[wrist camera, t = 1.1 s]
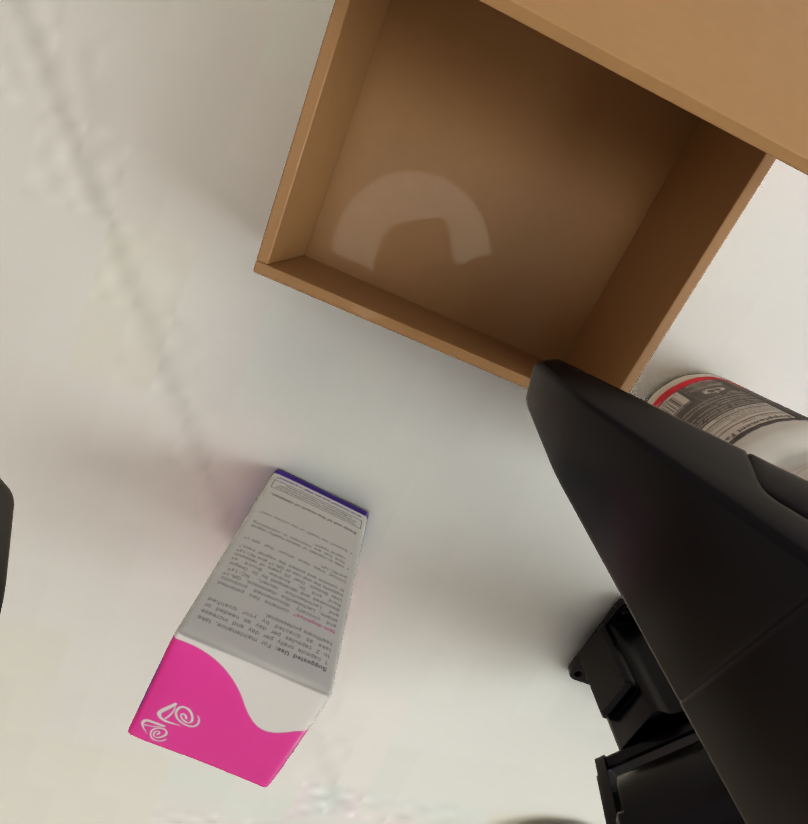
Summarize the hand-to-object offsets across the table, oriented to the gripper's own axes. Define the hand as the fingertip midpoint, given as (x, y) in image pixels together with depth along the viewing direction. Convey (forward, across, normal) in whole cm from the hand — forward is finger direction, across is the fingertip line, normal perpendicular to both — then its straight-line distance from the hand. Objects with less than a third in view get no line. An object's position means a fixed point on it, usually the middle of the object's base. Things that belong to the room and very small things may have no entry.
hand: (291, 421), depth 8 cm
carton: (+14, -10, +1) cm, 17 cm away
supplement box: (+10, +1, +18) cm, 21 cm away
